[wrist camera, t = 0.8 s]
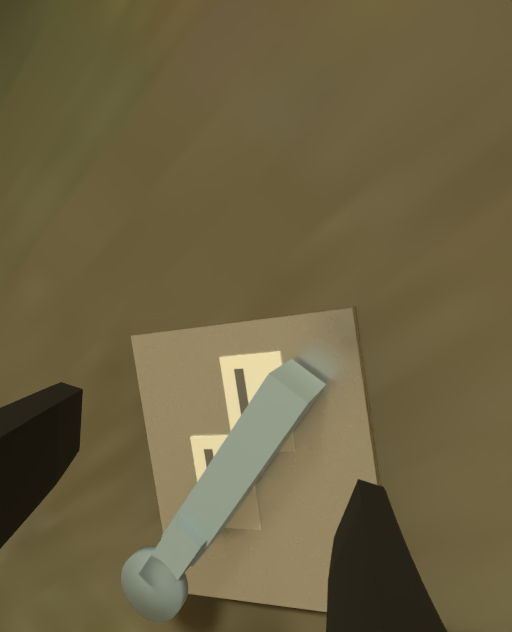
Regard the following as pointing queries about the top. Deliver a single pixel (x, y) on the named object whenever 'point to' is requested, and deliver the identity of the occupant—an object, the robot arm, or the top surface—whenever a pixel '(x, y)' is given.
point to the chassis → (287, 467)
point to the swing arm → (219, 492)
